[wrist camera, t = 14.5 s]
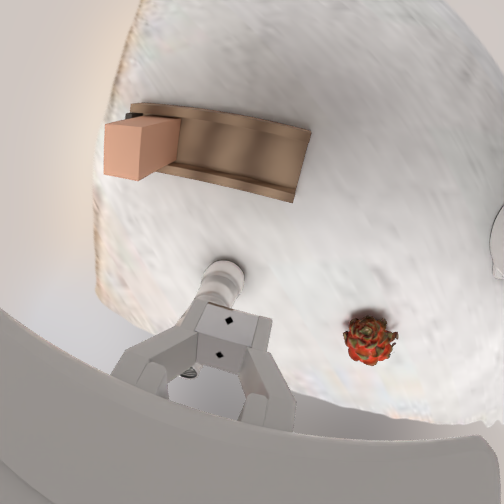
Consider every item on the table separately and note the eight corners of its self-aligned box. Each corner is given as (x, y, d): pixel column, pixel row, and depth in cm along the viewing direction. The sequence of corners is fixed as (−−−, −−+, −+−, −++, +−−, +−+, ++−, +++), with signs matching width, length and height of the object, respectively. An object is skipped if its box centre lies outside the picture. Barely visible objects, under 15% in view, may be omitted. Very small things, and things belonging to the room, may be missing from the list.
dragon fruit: (351, 298, 46) (382, 327, 50) (322, 338, 45) (357, 362, 50) (385, 313, 38) (412, 342, 43) (353, 360, 37) (386, 382, 42)
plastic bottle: (255, 279, 46) (223, 382, 29) (223, 293, 49) (182, 389, 32) (231, 248, 44) (184, 346, 27) (200, 265, 46) (146, 357, 30)
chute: (310, 130, 33) (311, 134, 29) (293, 195, 38) (292, 206, 34) (142, 102, 34) (126, 104, 31) (136, 161, 39) (122, 168, 36)
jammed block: (181, 118, 33) (141, 127, 25) (176, 160, 37) (138, 181, 28) (149, 114, 34) (105, 124, 25) (145, 154, 37) (103, 174, 28)
